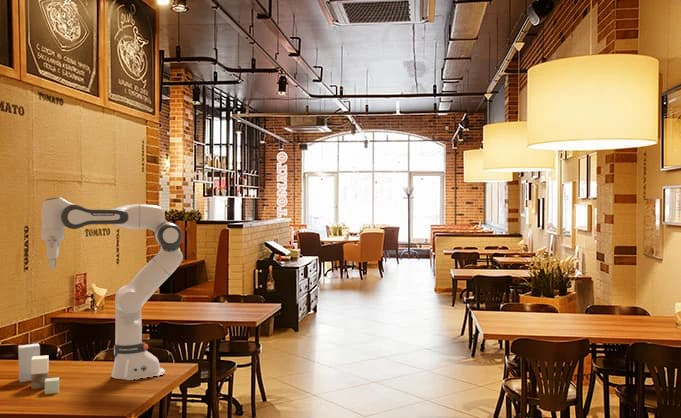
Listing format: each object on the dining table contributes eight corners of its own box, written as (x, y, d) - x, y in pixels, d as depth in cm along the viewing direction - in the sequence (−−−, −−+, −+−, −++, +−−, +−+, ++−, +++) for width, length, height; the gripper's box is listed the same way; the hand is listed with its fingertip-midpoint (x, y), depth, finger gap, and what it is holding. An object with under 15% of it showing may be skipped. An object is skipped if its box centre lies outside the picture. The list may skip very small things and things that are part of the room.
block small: (59, 389, 261) (59, 377, 261) (58, 393, 256) (58, 380, 256) (45, 390, 259) (45, 378, 259) (44, 394, 254) (44, 381, 254)
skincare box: (39, 377, 280) (39, 342, 280) (40, 380, 275) (40, 345, 275) (17, 379, 276) (18, 344, 276) (18, 382, 271) (18, 347, 271)
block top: (48, 369, 269) (48, 355, 269) (47, 373, 263) (47, 358, 263) (32, 370, 267) (32, 356, 267) (31, 374, 261) (31, 359, 261)
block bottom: (48, 384, 269) (48, 369, 269) (47, 387, 263) (47, 373, 263) (32, 385, 267) (32, 370, 267) (31, 389, 261) (31, 374, 261)
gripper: (60, 236, 264) (59, 270, 264) (62, 234, 283) (61, 266, 283) (43, 236, 261) (42, 270, 261) (46, 234, 280) (46, 266, 280)
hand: (52, 268), depth 272 cm, fingers open, 8 cm apart
